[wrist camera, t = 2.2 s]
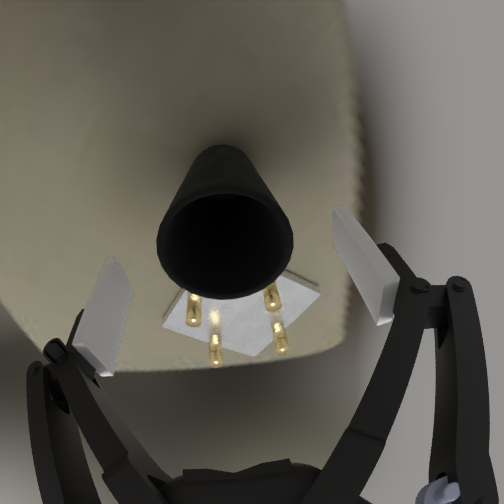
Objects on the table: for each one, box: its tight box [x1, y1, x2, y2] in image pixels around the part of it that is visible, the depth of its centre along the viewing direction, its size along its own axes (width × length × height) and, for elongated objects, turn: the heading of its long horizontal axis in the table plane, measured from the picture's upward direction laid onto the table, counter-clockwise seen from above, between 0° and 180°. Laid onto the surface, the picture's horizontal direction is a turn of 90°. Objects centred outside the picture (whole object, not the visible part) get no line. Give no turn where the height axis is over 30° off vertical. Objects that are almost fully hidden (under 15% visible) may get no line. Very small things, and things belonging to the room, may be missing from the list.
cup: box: [156, 145, 294, 300], centre depth 21 cm, size 8×8×12 cm
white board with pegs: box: [162, 270, 321, 368], centre depth 33 cm, size 14×14×6 cm
